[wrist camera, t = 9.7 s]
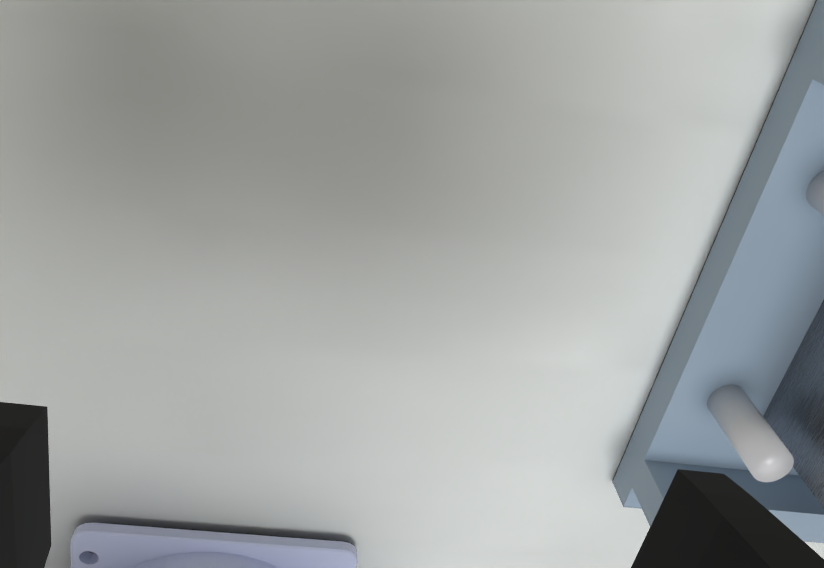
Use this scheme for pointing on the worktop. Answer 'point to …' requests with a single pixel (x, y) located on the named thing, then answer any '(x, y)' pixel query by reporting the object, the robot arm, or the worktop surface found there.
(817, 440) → the block
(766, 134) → the tray
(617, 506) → the worktop surface
